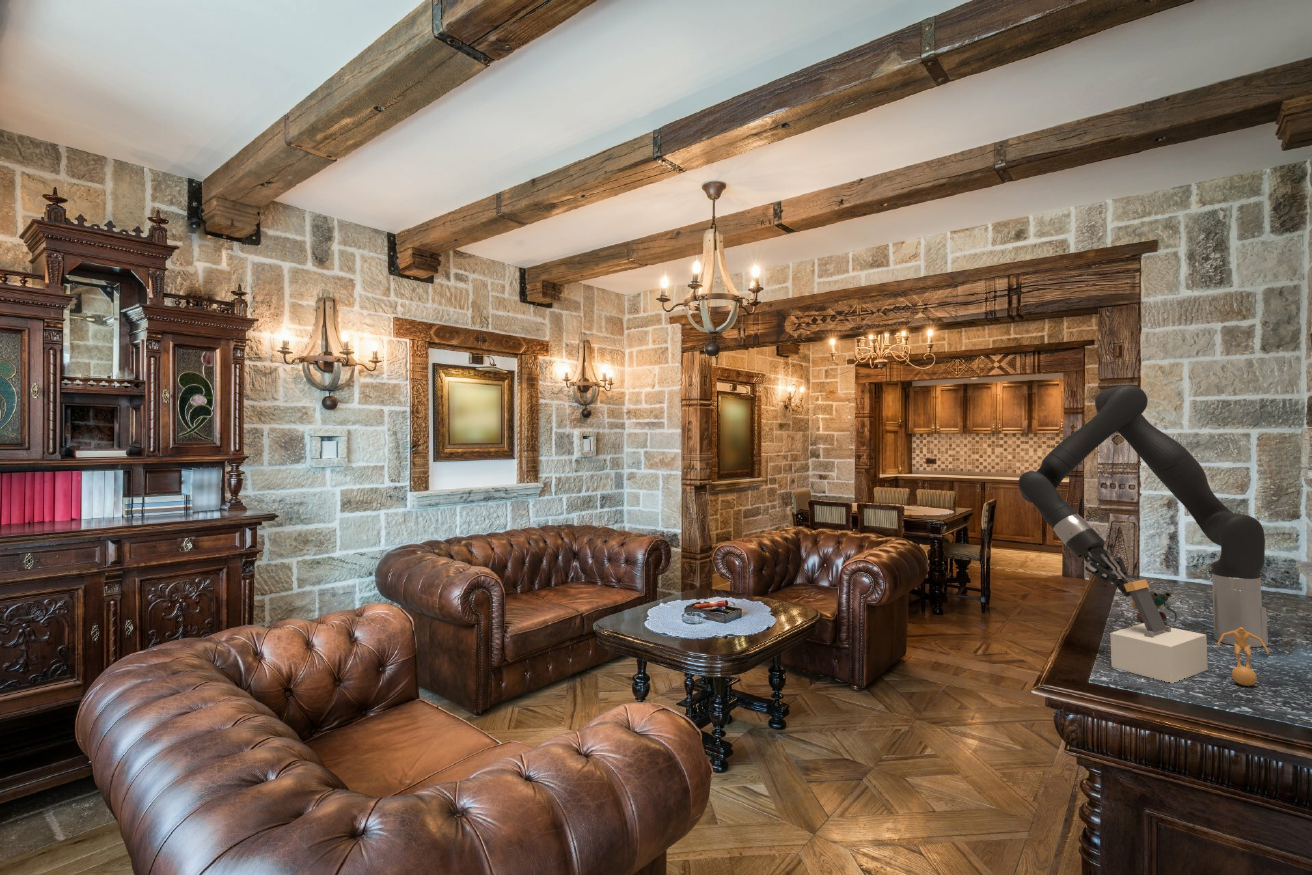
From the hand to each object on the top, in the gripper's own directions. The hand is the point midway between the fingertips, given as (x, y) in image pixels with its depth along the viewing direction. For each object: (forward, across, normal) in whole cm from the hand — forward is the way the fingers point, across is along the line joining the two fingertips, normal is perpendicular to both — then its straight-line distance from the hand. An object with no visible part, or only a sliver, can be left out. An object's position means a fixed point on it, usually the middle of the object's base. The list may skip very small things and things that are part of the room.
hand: (1131, 594), depth 150 cm
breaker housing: (+15, 0, +7) cm, 17 cm away
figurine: (+25, +5, -2) cm, 25 cm away
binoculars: (+2, +38, +21) cm, 44 cm away
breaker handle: (+9, 0, +1) cm, 9 cm away
